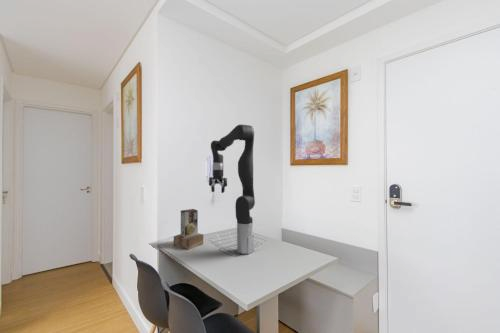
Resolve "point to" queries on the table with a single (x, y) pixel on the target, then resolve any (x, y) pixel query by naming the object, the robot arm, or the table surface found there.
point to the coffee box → (189, 223)
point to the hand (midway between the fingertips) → (217, 192)
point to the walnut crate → (188, 241)
